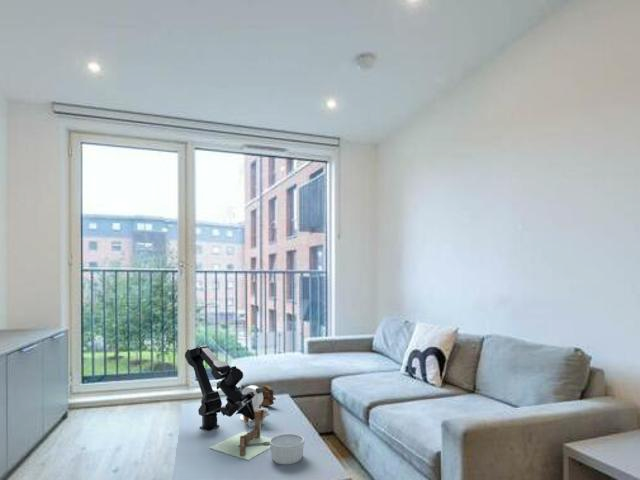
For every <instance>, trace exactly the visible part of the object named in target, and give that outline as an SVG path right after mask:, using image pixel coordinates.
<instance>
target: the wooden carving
mask: <svg viewBox="0 0 640 480" xmlns="http://www.w3.org/2000/svg"><path fill="white" fill-rule="evenodd" d="M259 387H263V388H264V392H262V393H263V396H264V400H263V402H262V403H261V406H264V407H267V406H272V405H274V404H275V402H274V401H276V397H274V393H275V392H274V389H273V388H272V387H271V386H269V385H260V386H259Z"/></svg>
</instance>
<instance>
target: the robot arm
mask: <svg viewBox="0 0 640 480" xmlns="http://www.w3.org/2000/svg"><path fill="white" fill-rule="evenodd" d="M184 358H185V360H186V361H187V364H188V365H189V366H190V367H192V368H193V371H194V374H195V376H196V380H197V382H198V385H199V389H200V391H201V395H202V396H201V400H200V403H201V405H200V406H199V408H198V415H199V416H201V417H202V420H201V422H202V423H201V426H199V429H202V430H205V431H212V430H214V429H217V428H219V427H220V425H219V424H218V413H221V414H222V416H227V417H230V418H231V417H232V416H233V415H234V414H236V415H240V414H241V415H242V414H243V415H245V416H246V417H248V418H249V419H251V420H254V419H255V413H254V408H253V404H252V398H253V397H254V396H255V394H254V393H253V392H249V393H248V394H247V395H246V394H245V395H243V394H242V391H241V390H242V389H241V387H240V386H237V385H238V384H239V383H240V382H241V380H242V379H243V378H244V373H243V370H241V369H239V368H238V367H237V366H235V365H232V366H231V365H229V364H228V363H227V362H226V361H223V360H220V359H219V358H218V357H217V356H216V354H214V353H213V351H212V350H211V349H210V348H209V345H207V344H206V345H200V346H197V347H195V348H188V349H186V352H185V353H184ZM204 362H205V363H206V364H207V365H208V367H209V368H210V369H211V372H210V374H211V375H212V377H213V378H214V379H215V380H216V381H218V380H219V381H218V382H216V390H219V389H220V390H221V392H222V393H223V394H224V395H225V396H226V398H225V401H226V404H225V405H223V401H222V398H221V396H220V392H219V391H215V390H214V389H213V387H212V384H211V381H210V379H209V376H208V372H207V370H206V366H205V365H204ZM220 379H221V380H220ZM222 405H223V406H222Z"/></svg>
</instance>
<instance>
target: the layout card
mask: <svg viewBox="0 0 640 480" xmlns="http://www.w3.org/2000/svg"><path fill="white" fill-rule="evenodd" d="M248 432H249V431H242V432H240V433H237V434H234V435H233V436H231V437H229V438H227V439H225V440H223V441H221V442H219V443H216V444H215V445H212V446H210V447H209V449H211V450H214V451H217V452H219V453H224V454H226V455H229V456H233V457H235V458H239V459H242V460H246V461H250V460H252V459H253V458H255V457H257V456H259V455H261V454H263V453H264V452H266V451H267V450H270V449H271V446H270V439H271V438H272V437H267V436H263V435H260V437H256V438H254V439H253V440H250V442H249V443H247V444H245V455H244V456H240V436H244V435H246V434H247V433H248Z"/></svg>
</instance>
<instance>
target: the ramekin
mask: <svg viewBox="0 0 640 480" xmlns="http://www.w3.org/2000/svg"><path fill="white" fill-rule="evenodd" d="M270 438H271V439H270V446H271V448H270V453H271V454H270V455H271V458H272V460H273V461H274V462H275V463H276V464H279V465H284V466H285V465H287V466H288V465H293V464H296V463H298V462H299V461H301V459H302V458H303V455H304V454H303V453H304V445H305V438H304V437H303V436H302V435H300V434H296V433H280V434H277V435H274V436H273V437H270Z"/></svg>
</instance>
